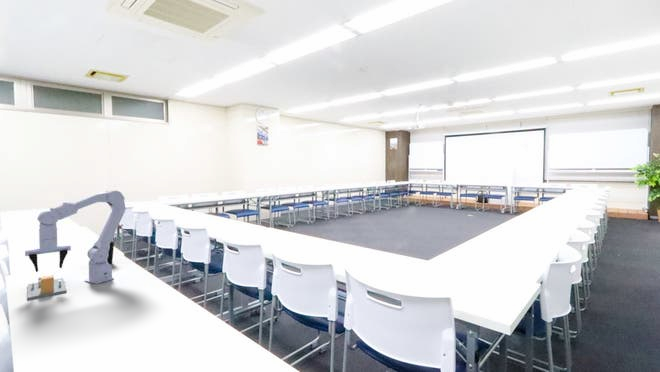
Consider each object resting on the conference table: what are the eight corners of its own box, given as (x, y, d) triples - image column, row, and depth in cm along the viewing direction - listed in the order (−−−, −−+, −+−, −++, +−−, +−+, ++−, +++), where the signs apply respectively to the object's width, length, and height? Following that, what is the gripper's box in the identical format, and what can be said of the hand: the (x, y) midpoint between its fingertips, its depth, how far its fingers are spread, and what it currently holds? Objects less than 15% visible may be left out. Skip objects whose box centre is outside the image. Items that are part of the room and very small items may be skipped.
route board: (66, 292, 132) (66, 289, 132) (27, 300, 123) (27, 297, 123) (62, 280, 147) (62, 277, 146) (27, 286, 138) (27, 284, 138)
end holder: (53, 283, 139) (53, 278, 139) (38, 286, 135) (38, 281, 135) (53, 280, 144) (53, 274, 144) (38, 282, 140) (38, 277, 140)
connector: (53, 291, 130) (53, 277, 130) (41, 293, 127) (40, 279, 127) (53, 288, 133) (53, 275, 133) (40, 291, 130) (40, 277, 130)
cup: (107, 266, 169) (107, 245, 168) (94, 266, 169) (93, 244, 169) (117, 262, 177) (117, 241, 176) (104, 262, 177) (104, 241, 176)
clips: (61, 286, 136) (61, 280, 136) (31, 291, 129) (31, 286, 129) (60, 282, 140) (60, 277, 140) (31, 287, 134) (31, 282, 134)
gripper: (69, 234, 141) (69, 263, 141) (24, 239, 130) (25, 270, 131) (71, 237, 136) (71, 267, 136) (25, 242, 125) (25, 274, 126)
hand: (49, 269), depth 133 cm, fingers open, 7 cm apart
